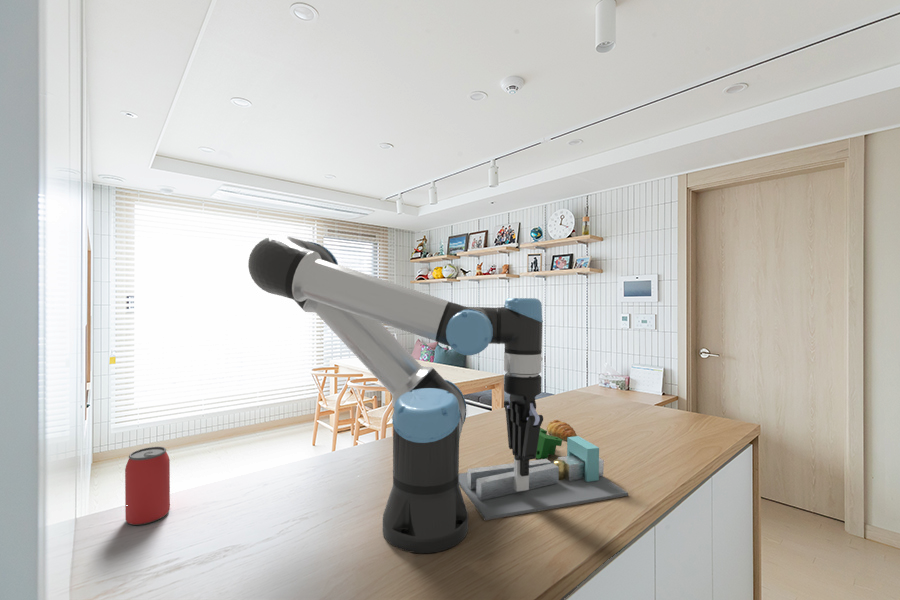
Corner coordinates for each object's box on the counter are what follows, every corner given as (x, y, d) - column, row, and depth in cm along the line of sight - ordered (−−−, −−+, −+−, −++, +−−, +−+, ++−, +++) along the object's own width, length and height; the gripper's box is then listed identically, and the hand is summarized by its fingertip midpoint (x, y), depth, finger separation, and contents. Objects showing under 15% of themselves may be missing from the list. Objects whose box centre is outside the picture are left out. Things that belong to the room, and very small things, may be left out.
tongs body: (474, 496, 83) (475, 477, 83) (467, 486, 88) (467, 468, 87) (603, 476, 93) (603, 460, 93) (591, 468, 97) (591, 452, 97)
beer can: (135, 531, 71) (134, 462, 71) (119, 519, 75) (118, 454, 74) (176, 513, 77) (176, 450, 77) (159, 504, 80) (159, 442, 80)
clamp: (552, 473, 106) (568, 446, 103) (532, 471, 103) (548, 443, 101) (533, 440, 116) (547, 414, 113) (515, 437, 114) (528, 411, 111)
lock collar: (587, 482, 90) (587, 449, 89) (566, 467, 97) (567, 437, 97) (598, 480, 90) (599, 447, 90) (577, 466, 98) (578, 436, 98)
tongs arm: (481, 500, 81) (481, 483, 81) (476, 495, 83) (476, 478, 83) (558, 482, 89) (558, 466, 89) (552, 479, 91) (552, 463, 91)
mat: (485, 520, 76) (485, 517, 76) (453, 476, 93) (453, 474, 93) (628, 495, 85) (628, 492, 85) (575, 460, 103) (575, 458, 103)
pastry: (582, 440, 117) (583, 427, 117) (563, 444, 115) (563, 430, 115) (562, 430, 126) (562, 418, 126) (543, 433, 124) (543, 420, 124)
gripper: (556, 378, 79) (554, 501, 79) (524, 367, 91) (523, 474, 91) (520, 380, 77) (518, 507, 77) (493, 369, 89) (491, 478, 89)
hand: (521, 489), depth 84 cm, fingers closed
